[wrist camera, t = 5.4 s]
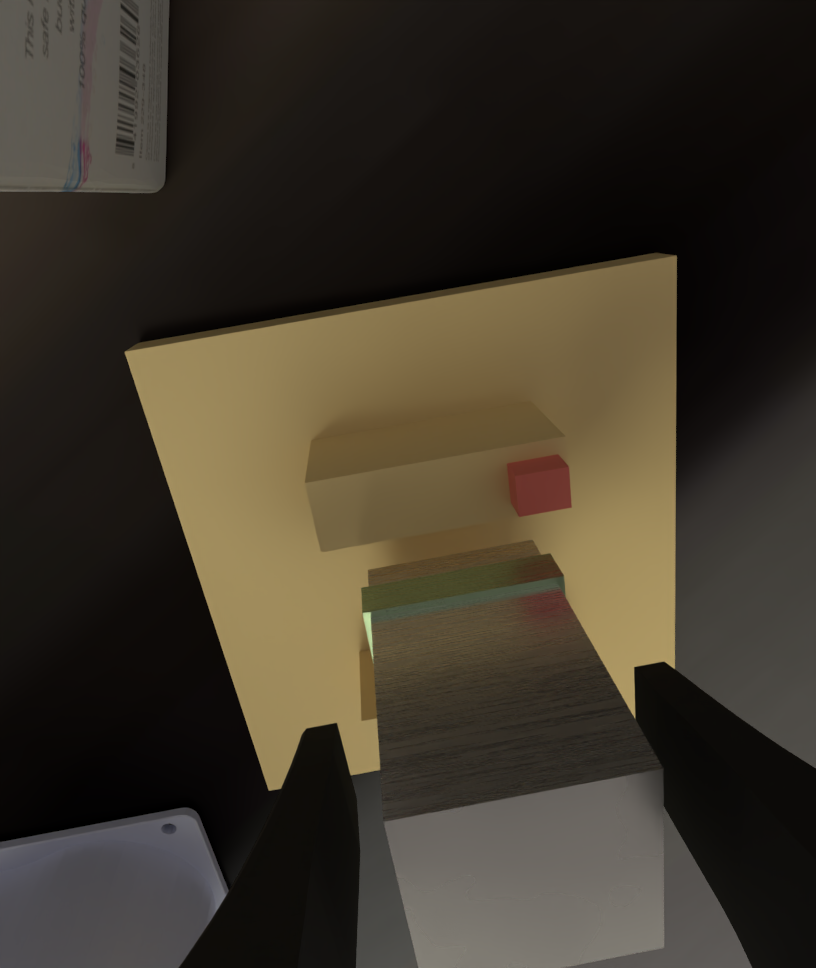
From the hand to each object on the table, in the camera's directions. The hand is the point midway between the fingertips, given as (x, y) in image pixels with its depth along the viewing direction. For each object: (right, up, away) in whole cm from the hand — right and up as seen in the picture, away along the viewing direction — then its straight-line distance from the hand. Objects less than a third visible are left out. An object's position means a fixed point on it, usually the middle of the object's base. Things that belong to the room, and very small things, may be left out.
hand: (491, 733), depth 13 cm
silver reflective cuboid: (0, +1, +3) cm, 4 cm away
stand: (-1, +3, +7) cm, 8 cm away
